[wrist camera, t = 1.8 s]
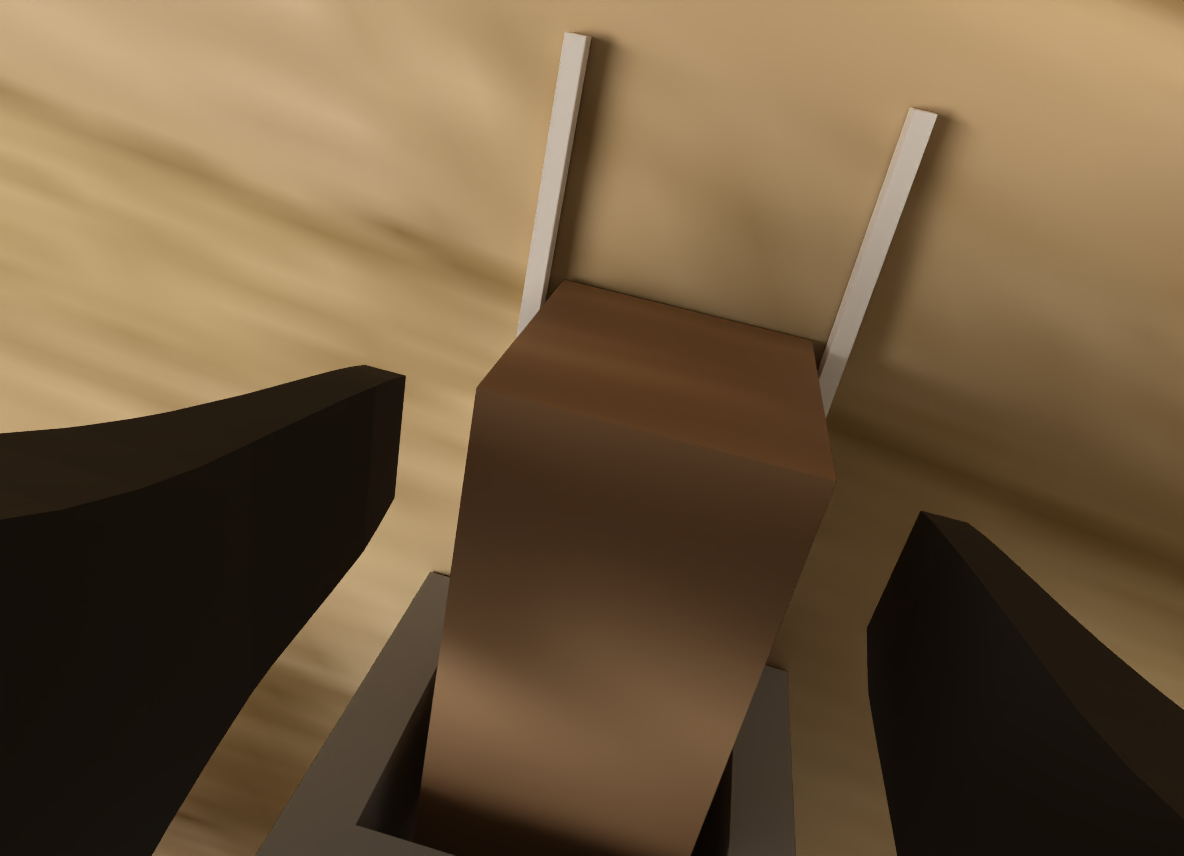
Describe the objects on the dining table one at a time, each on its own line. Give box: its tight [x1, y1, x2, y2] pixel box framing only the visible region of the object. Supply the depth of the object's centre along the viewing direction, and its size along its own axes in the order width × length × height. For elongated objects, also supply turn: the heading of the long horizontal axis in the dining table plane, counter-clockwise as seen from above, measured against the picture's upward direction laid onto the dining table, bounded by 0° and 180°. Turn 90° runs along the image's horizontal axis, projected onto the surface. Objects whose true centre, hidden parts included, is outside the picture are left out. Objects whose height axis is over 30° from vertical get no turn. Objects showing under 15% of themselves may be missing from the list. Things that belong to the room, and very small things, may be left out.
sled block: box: [413, 280, 837, 856], centre depth 14 cm, size 14×4×4 cm, turn 169°
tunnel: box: [256, 32, 938, 856], centre depth 12 cm, size 18×7×6 cm, turn 169°
